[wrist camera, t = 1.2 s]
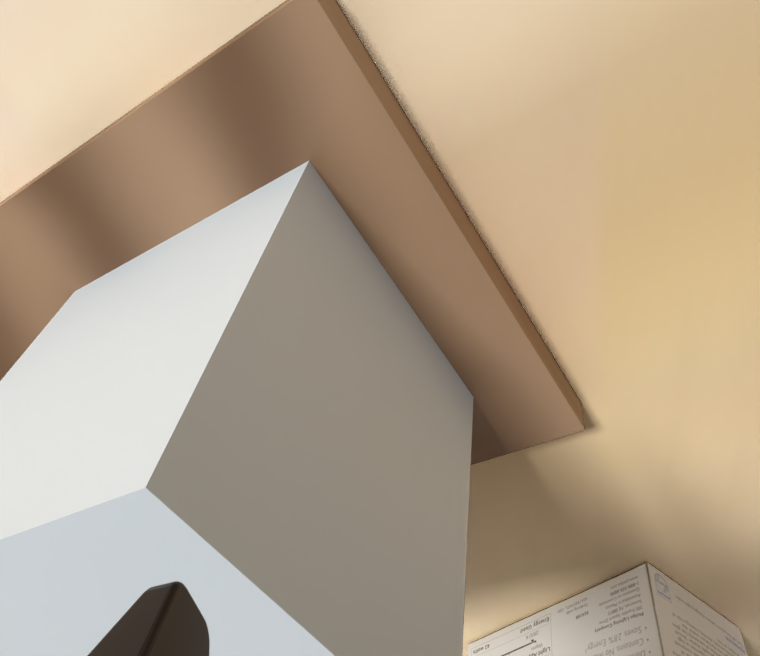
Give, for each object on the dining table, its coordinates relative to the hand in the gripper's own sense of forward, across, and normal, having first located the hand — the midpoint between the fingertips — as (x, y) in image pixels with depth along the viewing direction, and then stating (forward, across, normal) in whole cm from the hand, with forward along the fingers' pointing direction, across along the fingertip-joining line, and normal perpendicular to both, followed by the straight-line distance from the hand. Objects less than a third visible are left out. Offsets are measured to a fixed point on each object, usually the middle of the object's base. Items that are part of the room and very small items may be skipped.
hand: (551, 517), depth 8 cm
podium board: (+15, -8, -5) cm, 17 cm away
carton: (+13, -5, -4) cm, 14 cm away
